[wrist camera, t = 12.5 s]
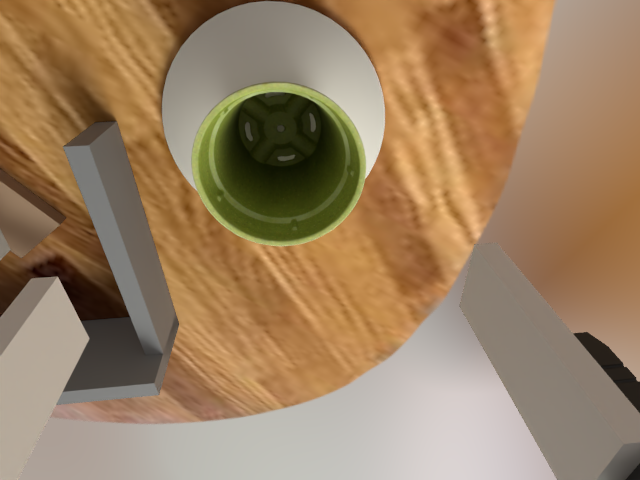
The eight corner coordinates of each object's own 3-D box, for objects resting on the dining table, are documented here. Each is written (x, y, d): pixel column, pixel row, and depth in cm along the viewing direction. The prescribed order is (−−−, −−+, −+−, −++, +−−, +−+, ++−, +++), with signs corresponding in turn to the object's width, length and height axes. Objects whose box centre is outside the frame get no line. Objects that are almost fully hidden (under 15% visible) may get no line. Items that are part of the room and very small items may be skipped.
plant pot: (233, 195, 31) (221, 259, 24) (194, 69, 26) (163, 101, 19) (349, 174, 31) (372, 231, 24) (333, 43, 26) (357, 66, 19)
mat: (136, 4, 24) (133, 5, 24) (391, -4, 25) (393, -3, 25) (189, 226, 33) (188, 230, 32) (377, 213, 34) (378, 217, 34)
